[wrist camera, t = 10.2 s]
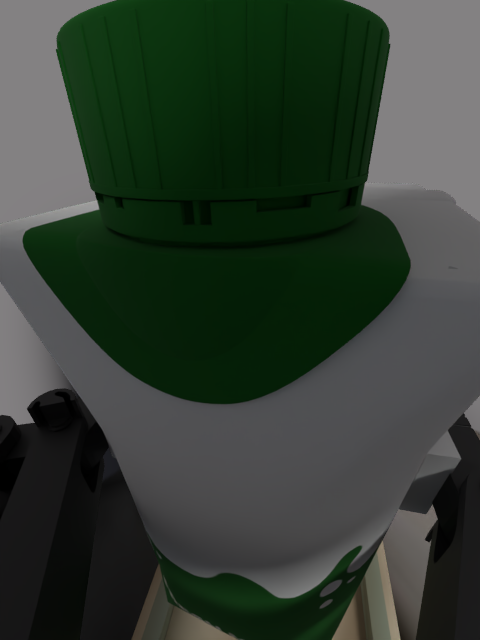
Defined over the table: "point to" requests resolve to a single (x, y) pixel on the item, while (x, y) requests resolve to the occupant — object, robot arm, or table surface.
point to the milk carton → (250, 297)
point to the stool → (197, 636)
